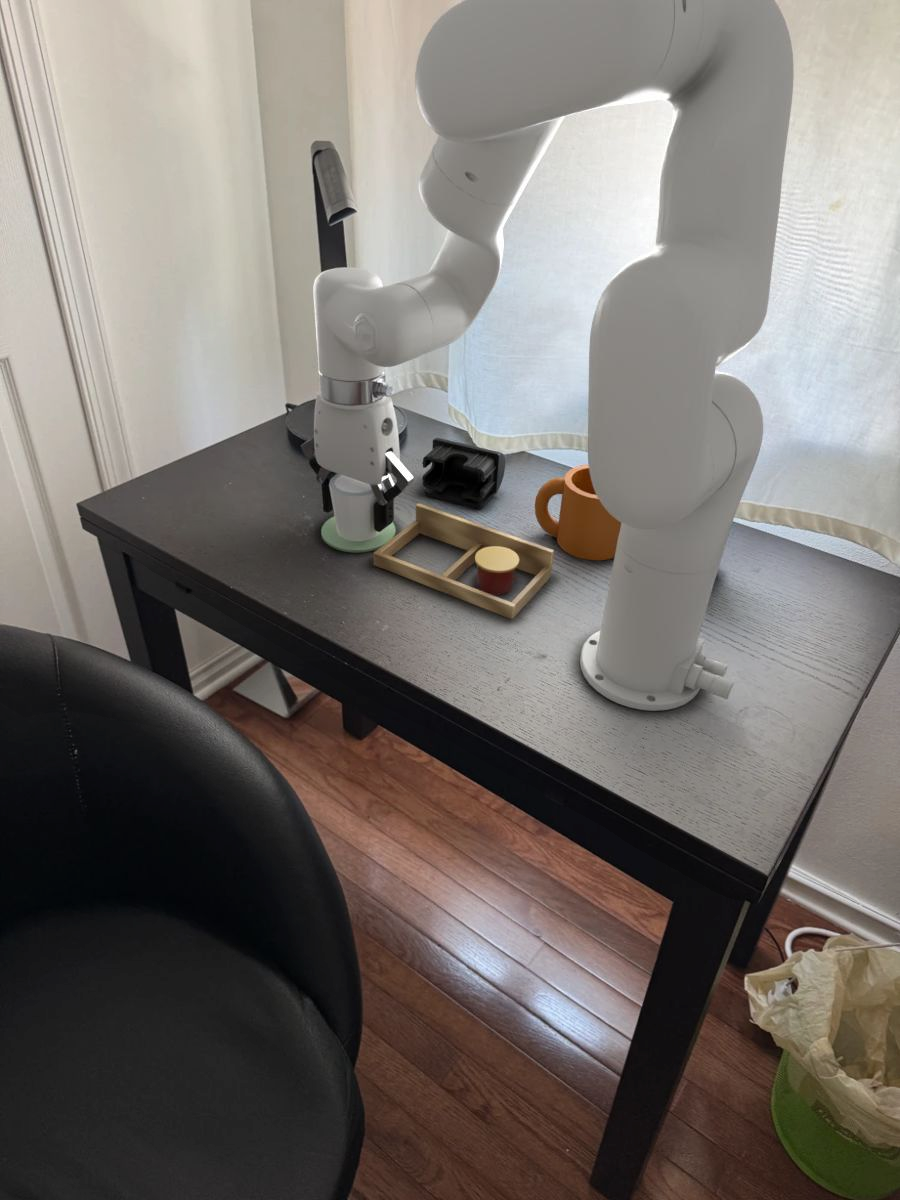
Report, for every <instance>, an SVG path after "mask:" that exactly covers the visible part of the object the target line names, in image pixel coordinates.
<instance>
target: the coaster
mask: <svg viewBox="0 0 900 1200" xmlns="http://www.w3.org/2000/svg"><path fill="white" fill-rule="evenodd" d="M320 532H321V533H320V535H321V539H322V540H323V542H324V543H325V544H327V546H329V547H331V548H333V549H335V550H338V551H341V552H345V553H353V554H355V553H356V554H358V553H370V552H375V551H377V550H378V549H379V548H380V547H382V546H383V545H384V544H386V543H387V542H388V541H390V540H391V539H392V538H393V537H395V536H396V535H397V534H396V532H397V531H396V526H395V523H394V522H392V523H391V524H390V525H389V526H387V527H386V528H385V529H383V530H382V531H381V532H380V533H379V534H378V535H377V536H376V537H375V538H372V539H370V540H366V541H350V540H346V539H344V538H342V537H341V536H339V534H338V532H337V528H336V522H335V516H334V515H333V516H331V517H330V518H329V519H327V520H326V521H324V523H323V525H322V526H321V530H320Z"/></svg>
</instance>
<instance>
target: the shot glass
mask: <svg viewBox="0 0 900 1200" xmlns="http://www.w3.org/2000/svg"><path fill="white" fill-rule="evenodd" d="M381 486H382V488H383V490H384V491H385V486H384V484H383V482H381ZM329 487H330V493H331V499H332V505H333V510H332V511H333V517H334V516H335V522H336V528H337V532H338V534H339V536H341V537H342V538H344V539H346V540H350V541H366V540H370V539H372V538H375V537H376V536H377V535H378V534H379V533H380V532H377V531H375V529H374V504H375V503H376V502H377V499H376V497H375V495H374V493H373V490H372V488H371V486H370V484H367V483H364V482H361V481H358V480H355V479H352V478H350V477H347V476H344V475H341V474H338V473H337V475H335V476H334V477H333V478H331V479H330V483H329Z"/></svg>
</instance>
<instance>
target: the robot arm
mask: <svg viewBox="0 0 900 1200" xmlns="http://www.w3.org/2000/svg"><path fill="white" fill-rule="evenodd" d="M792 46H793V45H792V39H791V36H790V31H789V28H788V25H787V21H786V19H785V17H784V15H783V12H782V11H781V8H780V7H779V5H778V4H777V2H776V0H463V1H461V2H459V3H457V4H456V5H454V6H451V8H449V9H448V10H447V11H446V12H445V13H443V14H442V15H441V16H440V17H439V18H438V19H437V20H436V21H435V23H433V25H432V26H431V28H430V30H429V31H428V32H427V34H426V35H425V38H424V40H423V42H422V44H421V47H420V49H419V53H418V56H417V59H416V65H415V72H414V90H415V97H416V102H417V106H418V108H419V110H420V114H421V115H422V117H423V119H424V121H425V122H426V124H427V125H428V126H429V127H430V129H431V130H432V131H433V132H434V133H435V134H436V135H437V138H436V139H435V143H434V144H433V147H432V149H431V151H430V153H429V156H428V158H427V160H426V162H425V164H424V166H423V169H422V171H421V173H420V176H419V180H418V193H419V196H420V199H421V202H422V204H423V205H424V207H425V209H426V210H427V211H428V212H429V214H430V215H431V216H432V217H433V218H434V220H436V221H437V222H438V223H439V224H440V225H441V226H442V227H444V228H445V229H446V230H447V232H446V235H445V238H444V241H443V243H442V245H441V247H440V249H439V251H438V253H437V255H436V257H435V258H434V261H433V263H432V265H431V267H430V268H429V270H428V272H427V273H426V274H424V275H420V276H416V277H412V278H410V279H406V280H403V281H401V282H397V283H394V284H389V285H384V284H383V282H382V279H381V278H380V276H379V275H378V274H376V273H375V272H373V271H371V270H368V269H365V268H361V267H351V266H350V267H348V266H347V267H345V266H343V267H334V268H330V269H326V270H324V271H322V272H320V273H319V274H318V275H317V276H316V277H315V279H314V282H313V287H312V289H313V290H312V293H313V307H314V310H313V311H314V320H315V321H314V323H315V338H316V339H315V341H316V352H317V364H318V365H317V367H318V383H319V390H318V391H317V394H316V398H315V403H314V414H313V415H314V416H313V437H312V438H310V439H308V440H306V441H305V442H304V443H302V444H301V445H300V449H301V451H302V452H303V454H304V456H305V457H306V459H307V460H308V464H309V466H310V468H311V469H312V470H313V472H314V473H315V474H316V478H315V479H316V482H317V483H318V484H321V495H322V498H321V499H322V511H323V512H324V513H327V514H328V513H331V512H332V511H334V510H333V505H332V499H331V493H330V487H329V483H330V479H331V478H333V477H334V476H335V475H337V474H341V475H344V476H347V477H350V478H352V479H355V480H358V481H361V482H364V483H367V484H370V486H371V488H372V490H373V493H374V495H375V497H376V499H377V502H376V503H375V504H374V529H375V531H377V532H381V531H382V530H383V529H385V528H386V527H387V526H389V525H390V524H391V523H392V522H393V521H394V519H395V510H394V509H395V508H394V506H395V502H394V499H396V498H397V497H398V496H399V495H401V494H402V493H403V492H405V491H406V489H408V487H409V486H410V485H412V484H413V482H414V480H415V478H414V475H413V474H412V473H411V472H410V471H409V469H407V467H406V466H405V465H404V464H403V462H401V452H400V438H399V429H398V422H397V415H396V412H395V411H396V410H395V407H394V403H393V399H392V398H391V396H392V394H393V391H394V389H393V386H392V385H391V384H388V383H387V382H386V381H387V379H386V368H392V367H396V366H398V365H401V364H404V363H407V362H409V361H411V360H412V361H413V360H414V359H417V358H419V357H421V356H423V355H425V354H428V353H431V352H433V351H435V350H438V349H441V348H443V347H446V346H449V345H451V344H453V343H454V342H456V341H458V340H459V339H460V338H461V337H462V336H464V335H465V333H467V331H468V330H469V329H470V328H471V327H472V325H473V324H474V322H475V321H476V319H477V317H478V316H479V314H480V313H481V311H482V309H483V308H484V306H485V305H486V303H487V301H488V299H489V298H490V295H491V294H492V293H493V290H494V288H495V286H496V284H497V283H498V279H499V276H500V273H501V268H502V262H503V256H504V234H503V233H504V232H503V229H504V227H505V224H506V222H507V220H508V218H509V217H510V214H511V213H512V212H513V209H514V208H515V206H516V204H517V202H518V200H519V198H520V197H521V195H522V193H523V191H524V189H525V188H526V186H527V184H528V183H529V181H530V179H531V177H532V175H533V174H534V172H535V170H536V168H537V167H538V164H539V163H540V162H541V159H542V158H543V156H544V155H545V153H546V151H547V149H548V147H549V144H550V143H551V142H552V140H553V138H554V136H555V135H556V133H557V131H558V129H559V127H560V126H561V123H562V122H563V120H564V118H565V117H568V116H572V115H575V114H579V113H582V112H587V111H591V110H595V109H599V108H604V107H612V106H613V107H614V106H619V105H627V104H637V103H638V104H639V103H644V102H652V101H656V100H657V101H660V100H661V101H664V102H666V103H668V104H670V107H672V123H671V127H670V131H669V134H668V137H667V140H666V143H665V148H664V151H663V154H662V159H661V164H660V169H659V177H658V205H657V206H658V207H657V219H656V230H655V238H654V244H653V249H652V251H650V252H647V253H645V254H642V255H640V256H638V257H636V258H635V259H633V260H631V261H630V262H628V263H627V264H625V265H624V266H623V267H621V268H620V270H619V271H617V273H615V275H614V276H613V277H612V278H611V280H609V281H608V283H607V285H606V287H605V288H604V290H603V291H602V294H601V296H600V297H599V300H598V302H597V305H596V307H595V311H594V314H593V318H592V322H591V328H590V333H589V346H588V347H589V349H588V351H589V352H588V398H587V399H588V400H587V402H588V403H587V404H588V405H587V407H588V409H587V413H588V414H587V463H588V464H587V465H589V471H590V477H591V481H592V484H593V487H594V490H595V493H596V495H597V497H598V499H599V500H600V502H601V503H602V505H603V506H604V508H605V509H606V510H607V511H608V512H609V513H610V514H611V515H612V516H613V517H614V518H615V519H617V520H618V521H620V522H621V528H620V533H619V537H618V542H617V547H616V552H615V557H613V563H612V569H611V572H610V573H611V574H610V579H609V584H608V590H607V594H606V595H607V596H606V601H605V605H604V610H603V614H602V615H603V616H602V621H601V625H600V626H601V627H600V629H599V630H598V631H596V632H594V633H592V634H591V635H590V636H589V637H588V638H587V639H586V640H585V642H584V643H583V645H582V648H581V652H580V657H579V664H580V670H581V672H582V674H583V677H584V678H585V680H586V681H587V683H588V684H589V685H590V686H591V687H592V688H593V689H594V690H595V691H596V692H597V693H599V694H600V695H602V696H603V697H604V698H607V699H608V700H609V701H612V702H614V703H616V704H619V705H621V706H624V707H627V708H630V709H636V710H640V711H651V712H657V711H668V710H672V709H676V708H679V707H681V706H684V705H686V704H688V703H689V702H691V701H692V700H693V699H694V698H695V697H696V696H697V695H698V693H699V691H700V690H704V691H707V692H709V694H712V695H714V696H716V697H719V698H722V699H724V700H728V699H729V697H730V695H731V692H732V691H733V686H734V683H735V680H732V679H730V678H727V677H725V675H726V673H727V670H728V668H729V665H728V664H726V663H723V662H722V661H719V660H713V659H711V658H709V657H707V654H705V653H703V652H702V650H703V647H704V644H705V639H704V638H702V637H700V633H701V631H702V626H703V622H704V619H705V616H706V612H707V609H708V605H709V601H710V599H711V595H712V593H713V592H712V591H713V588H714V586H715V585H714V584H715V582H716V578H717V575H718V573H717V571H719V569H718V567H719V568H720V565H721V562H722V559H723V555H724V551H725V549H726V545H727V541H728V538H729V535H730V531H731V528H732V525H733V522H734V519H735V516H736V514H737V511H738V508H739V505H740V503H741V500H742V498H743V496H744V493H745V490H746V488H747V486H748V483H749V481H750V478H751V476H752V473H753V472H754V468H755V466H756V463H757V461H758V457H759V454H760V451H761V447H762V442H763V437H764V417H763V411H762V408H761V405H760V402H759V400H758V398H757V397H756V396H757V395H756V394H755V393H754V392H753V390H752V388H750V387H749V385H747V384H746V383H745V382H744V381H742V379H740V378H738V377H736V376H734V375H732V374H730V373H726V372H723V371H718V370H717V367H718V366H720V365H722V364H724V363H725V362H726V361H728V360H730V359H731V358H733V356H735V355H737V353H739V352H740V351H742V350H743V349H745V348H746V347H747V346H748V345H749V344H750V343H751V342H752V340H753V339H755V337H756V336H757V335H758V334H759V332H760V331H761V328H762V326H763V323H764V322H765V319H766V316H767V312H768V309H769V308H768V307H769V300H770V290H771V280H772V272H773V263H774V255H775V247H776V239H777V231H778V230H777V229H778V224H779V223H778V222H779V214H780V208H781V207H780V206H781V199H782V196H781V195H782V183H783V173H784V167H785V166H784V165H785V158H786V149H787V142H788V134H789V127H790V121H791V111H792V106H793V105H792V102H793V92H794V77H795V76H794V75H795V74H794V71H795V70H794V54H793V47H792ZM391 474H392V475H393V476H394V478H395V480H396V482H394V480H393V478H392V476H391ZM381 482H383V484H384V490H383V488H382V486H381ZM385 490H386V491H385ZM393 523H394V522H393ZM720 561H721V562H720ZM719 564H720V565H719ZM716 574H717V575H716Z"/></svg>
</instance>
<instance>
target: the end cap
mask: <svg viewBox="0 0 900 1200" xmlns="http://www.w3.org/2000/svg"><path fill="white" fill-rule="evenodd" d="M421 464H422V468H423V469H426V468H428V467H429V465H431V466H430V467H429V469H428V470H427V471H426V472H425V473H424V474H423V475H422V477H421V479H422V486H423V487H424V489H423V494H424V496H426V497H430V498H434V499H438V500H442V501H445V502H448V503H449V502H450V503H453V504H458V505H461V506H465V507H469V508H473V509H475V510H476V509H477V510H483V509H484V508H485V507H486V506H487V504H488V503H489V502H490V501H491V500H492V498H493V497H494V495H496V494H497V493H498V491H499V489H500V487H501V485H502V483H503V479H504V476H505V471H506V457H505V454H504V453H503V452H501V451H497V450H493V449H488V448H484V447H480V446H476V445H471V444H467V443H462V442H458V441H453V440H450V439H445V438H441V437H436V438H434V439H432V449H431V450H430V451H429V452H428V453H427V454H426V455H425V456H424V457H423V458H422V463H421Z"/></svg>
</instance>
